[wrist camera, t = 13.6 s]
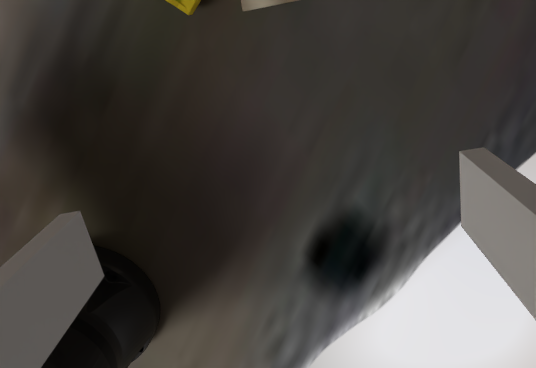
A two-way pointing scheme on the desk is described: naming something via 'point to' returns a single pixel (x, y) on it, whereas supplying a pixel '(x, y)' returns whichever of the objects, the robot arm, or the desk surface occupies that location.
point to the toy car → (185, 5)
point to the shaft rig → (261, 3)
